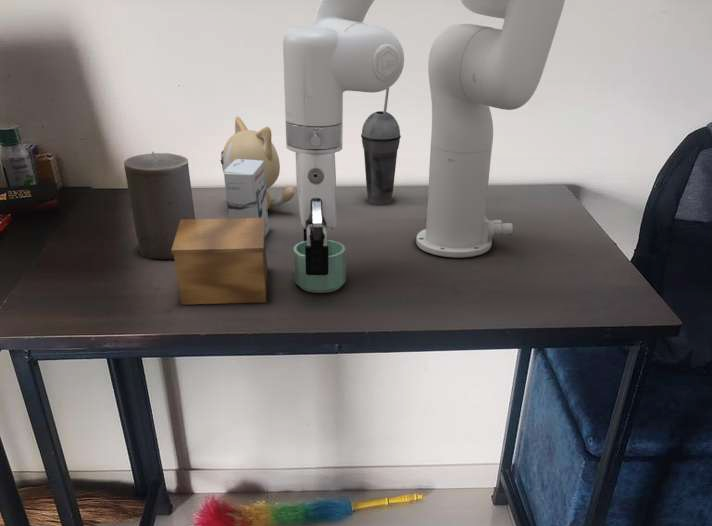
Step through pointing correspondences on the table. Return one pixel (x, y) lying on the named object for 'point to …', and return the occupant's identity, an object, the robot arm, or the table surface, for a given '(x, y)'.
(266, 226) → the ink box
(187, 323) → the table surface
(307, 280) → the teal green pot
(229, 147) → the kitten
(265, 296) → the wooden stand
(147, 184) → the pillar candle
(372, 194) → the beverage cup
